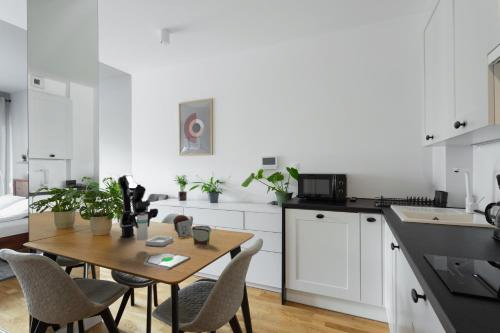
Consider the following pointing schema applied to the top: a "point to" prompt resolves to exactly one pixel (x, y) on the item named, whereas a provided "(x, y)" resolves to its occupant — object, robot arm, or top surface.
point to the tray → (159, 241)
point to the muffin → (179, 220)
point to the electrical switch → (184, 228)
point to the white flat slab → (165, 260)
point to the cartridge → (142, 226)
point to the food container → (201, 235)
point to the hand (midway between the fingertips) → (143, 227)
